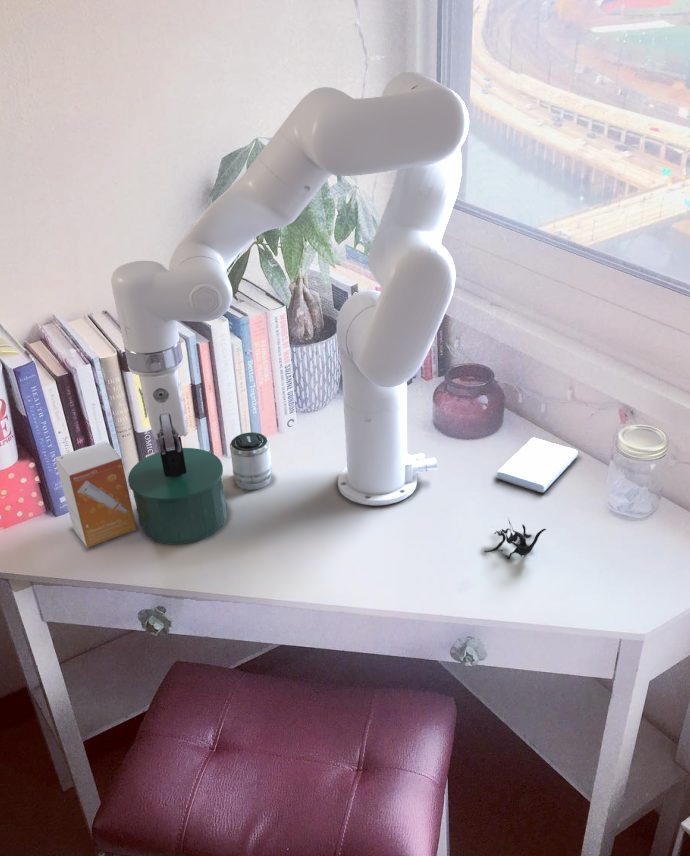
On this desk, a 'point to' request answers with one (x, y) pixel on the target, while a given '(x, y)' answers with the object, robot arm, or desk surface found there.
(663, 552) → the desk surface
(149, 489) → the lid
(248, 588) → the desk surface
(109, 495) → the small box
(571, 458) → the hard drive
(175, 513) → the pot
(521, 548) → the creature
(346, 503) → the desk surface
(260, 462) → the camera lens
